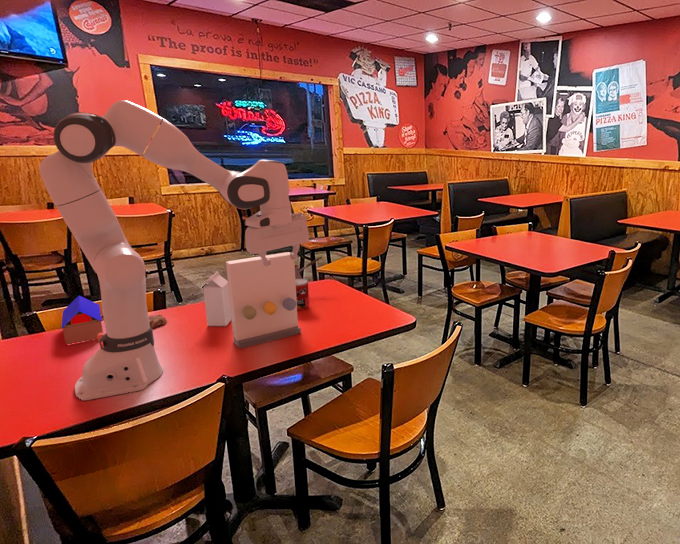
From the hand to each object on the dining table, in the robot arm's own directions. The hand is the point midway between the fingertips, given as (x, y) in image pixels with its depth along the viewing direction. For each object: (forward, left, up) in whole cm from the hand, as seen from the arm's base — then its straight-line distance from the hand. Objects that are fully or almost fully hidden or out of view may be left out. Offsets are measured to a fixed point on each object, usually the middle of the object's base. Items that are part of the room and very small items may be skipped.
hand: (280, 262), depth 132 cm
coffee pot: (+31, +51, -30) cm, 67 cm away
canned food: (+21, +34, -30) cm, 50 cm away
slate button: (+6, +10, -19) cm, 22 cm away
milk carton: (-11, +36, -30) cm, 48 cm away
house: (-55, +55, -30) cm, 84 cm away
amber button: (-1, +10, -19) cm, 22 cm away
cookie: (-33, +49, -30) cm, 67 cm away
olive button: (-8, +10, -19) cm, 23 cm away
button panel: (-1, +14, -29) cm, 33 cm away
